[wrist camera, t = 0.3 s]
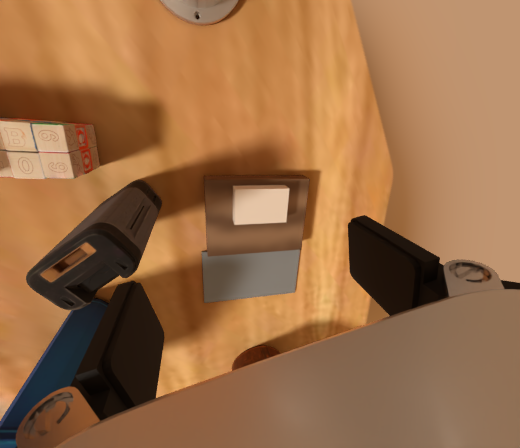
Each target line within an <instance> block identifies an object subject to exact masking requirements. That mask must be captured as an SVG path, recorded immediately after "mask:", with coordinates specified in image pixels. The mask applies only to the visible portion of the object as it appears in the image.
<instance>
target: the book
mask: <svg viewBox="0 0 520 448" xmlns="http://www.w3.org/2000/svg"><path fill="white" fill-rule="evenodd" d="M107 306H108V303H106V302H104V301H103V300H100V299H94V298H93V300H92V301H91V303H90V304H88V305H87V306H85V307H83V308H81V309H78V310H72V311H71V312H70V314H69V315H68V317H67V318H66V320H65V321H64V323H63V324H62V326H61V327H60V329H59V330H58V332H57V334H56V335H55V337H54V338H53V340H52V341H51V343H50V344H49V346H48V348H47V349H46V351H45V352H44V354H43V355H42V357H41V358H40V360H39V362H38V363H37V365H36V366H35V368H34V369H33V371H32V372H31V374H30V376H29V377H28V379H27V380H26V382H25V383H24V385H23V386H22V388H21V390H20V391H19V393H18V394H17V396H16V397H15V399H14V400H13V402H12V404H11V405H10V407H9V408H8V410H7V411H6V413H5V414H4V416H3V418H2V419H1V421H0V448H15V447H17V444H16V432H17V430H18V427H19V425H20V423H21V422H22V420H23V419H24V417H25V416H26V415H27V414H28V413H29V411H30V410H31V409H32V408H33V407H34V406H35V405H36V404H37V403H39V402H40V401H41V400H42V399H43V398H45V397H46V396H48V395H49V394H51V393H52V392H54V391H57V390H59V389H61V388H65V387H70V385H71V383H72V381H73V379H74V377H75V374H76V372H77V370H78V368H79V365H80V363H81V361H82V359H83V357H84V355H85V353H86V351H87V349H88V346H89V344H90V342H91V340H92V338H93V336H94V334H95V332H96V330H97V328H98V325H99V323H100V321H101V319H102V317H103V315H104V313H105V311H106V309H107Z"/></svg>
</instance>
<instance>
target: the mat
mask: <svg viewBox="0 0 520 448" xmlns="http://www.w3.org/2000/svg"><path fill="white" fill-rule="evenodd" d="M299 254H300V250H288V251H275V252H262V253H249V254H236V255H223V256H210V257H208V255H207V251H202V266H203V286H204V303H209V302H218V301H226V300H235V299H243V298H252V297H260V296H269V295H277V294H286V293H294V292H295V287H296V279H297V270H298V262H299Z"/></svg>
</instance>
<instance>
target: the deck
mask: <svg viewBox="0 0 520 448" xmlns="http://www.w3.org/2000/svg"><path fill="white" fill-rule="evenodd" d="M309 181H310V179H309V178H307V177H305V176H303V175H276V176H204V188H205V213H206V237H207V255H208V257H210V256H223V255H236V254H249V253H262V252H275V251H288V250H301V246H302V237H303V229H304V221H305V213H306V205H307V197H308V189H309ZM245 185H285V186H287V187H288V188H289V199H288V210H287V220H286V222H284V223H264V224H243V225H234V222H233V186H245Z"/></svg>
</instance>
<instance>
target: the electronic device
mask: <svg viewBox="0 0 520 448" xmlns="http://www.w3.org/2000/svg"><path fill="white" fill-rule="evenodd" d="M161 205H162V201H161V199H160V197H159V196H158V195H157V194H156V193H155V192H154V191H153V189H152V188H151V187H150V186H149V185H148V184H147V183H146V182H144V181H141V180H136V181H133V182H131V183H130V184H128V185H127V186H126V187H124V188H123V189H121V190H120V191H118V192H117V193H116V194H114V195H113V196H111V197H110V198H108V199H107V200H106V201H104V202H103V203H102V204H100V205H99V206H98V207H97V208H96V209H95V210H94V211H93V212H92V213H91V214H90V215H89V216H88V217H87V218H85V219H84V220H83V221H82V222H81V223H80V224H79V225H78V226H77V227H76V228H75V229H74V230H73V231H72V232H70V233H69V234H68V235H67V236H66V237H65V238H64V239H63V240H62V241H61V242H60V243H59V244H58V245H57V246H55V247H54V248H53V249H52V250H51V251H50V252H49V253H48V254H47V255H46V256H45V257H44V258H43V259H42V260H40V261H39V262H38V263H37V264H36V265H35V266H34V267H33V268H32V269H31V270H30V271H29V272H28V274H27V276H26V280H27V283H28V285H29V286H30V287H31V288H32V289H33V290H34V291H36V292H37V293H39V294H40V295H42V296H43V297H45V298H46V299H48V300H49V301H51V302H52V303H54V304H55V305H57V306H59V307H60V308H63V309H66V310H78V309H81V308H83V307H85V306H87V305H88V304H90V303H91V301H92V300H93V298H94V296H95V294H96V293H97V291H98V290H99V289H100V288H102V287H103V286H105V285H106V284H107V283H109V282H110V281H112V280H113V279H115V278H116V277H118V276H119V275H120V276H121V277H122V278H128V277H129V276H131V275H132V274H133V273H134V272H135V271H136V270H137V268H138V265H139V263H140V260H141V258H142V255H143V252H144V250H145V247H146V245H147V242H148V239H149V237H150V234H151V231H152V229H153V226H154V224H155V221H156V218H157V216H158V213H159V210H160V208H161Z"/></svg>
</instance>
